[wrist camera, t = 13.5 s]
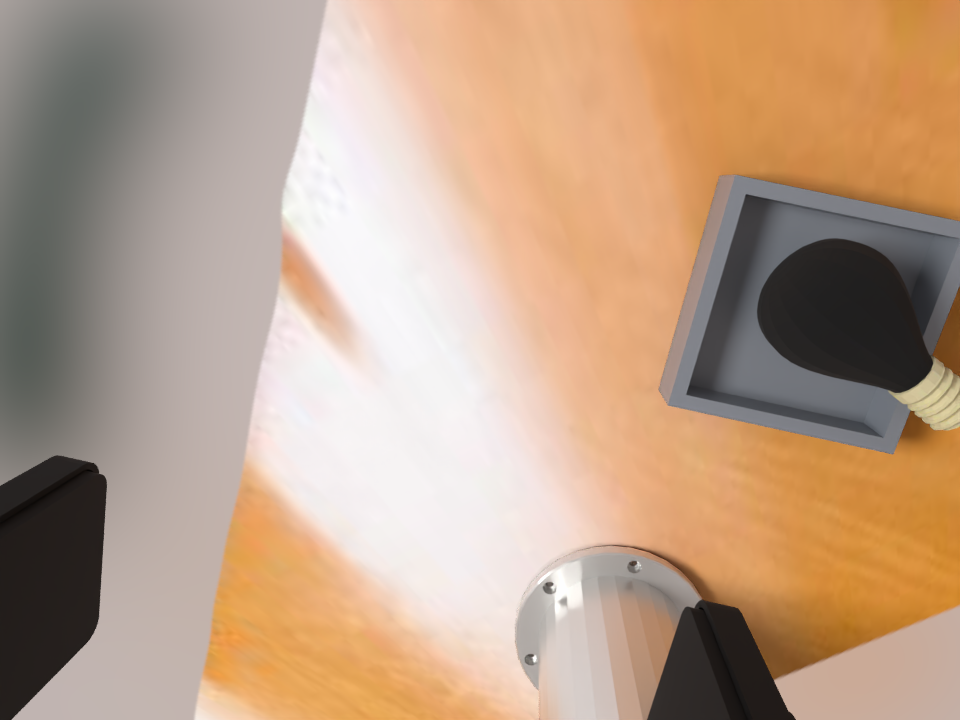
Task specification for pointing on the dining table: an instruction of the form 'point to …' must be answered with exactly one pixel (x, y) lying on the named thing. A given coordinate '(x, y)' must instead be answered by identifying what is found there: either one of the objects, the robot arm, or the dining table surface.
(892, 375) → the light bulb
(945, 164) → the dining table surface
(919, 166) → the dining table surface
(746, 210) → the parts tray
